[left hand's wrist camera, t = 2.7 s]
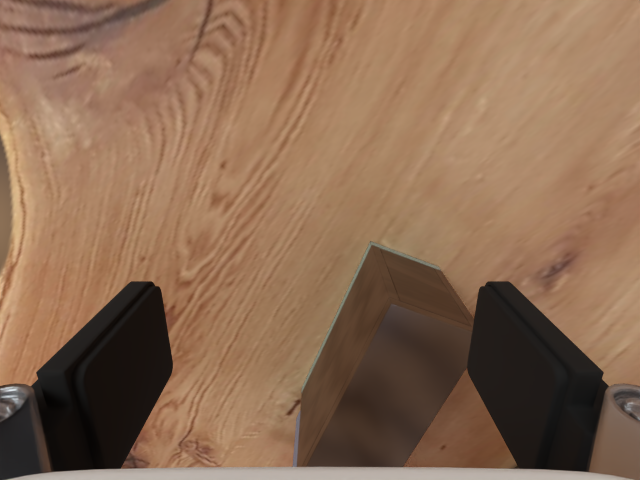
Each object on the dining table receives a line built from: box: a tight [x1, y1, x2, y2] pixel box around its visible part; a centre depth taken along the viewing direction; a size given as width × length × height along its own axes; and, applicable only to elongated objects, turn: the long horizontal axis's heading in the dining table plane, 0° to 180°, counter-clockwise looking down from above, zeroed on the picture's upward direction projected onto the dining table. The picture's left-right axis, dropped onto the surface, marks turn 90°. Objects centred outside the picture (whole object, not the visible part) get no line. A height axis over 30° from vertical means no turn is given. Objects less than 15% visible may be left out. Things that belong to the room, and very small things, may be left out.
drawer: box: [293, 410, 301, 467], centre depth 34 cm, size 22×5×9 cm, turn 159°
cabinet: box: [297, 241, 474, 467], centre depth 31 cm, size 17×7×11 cm, turn 159°
